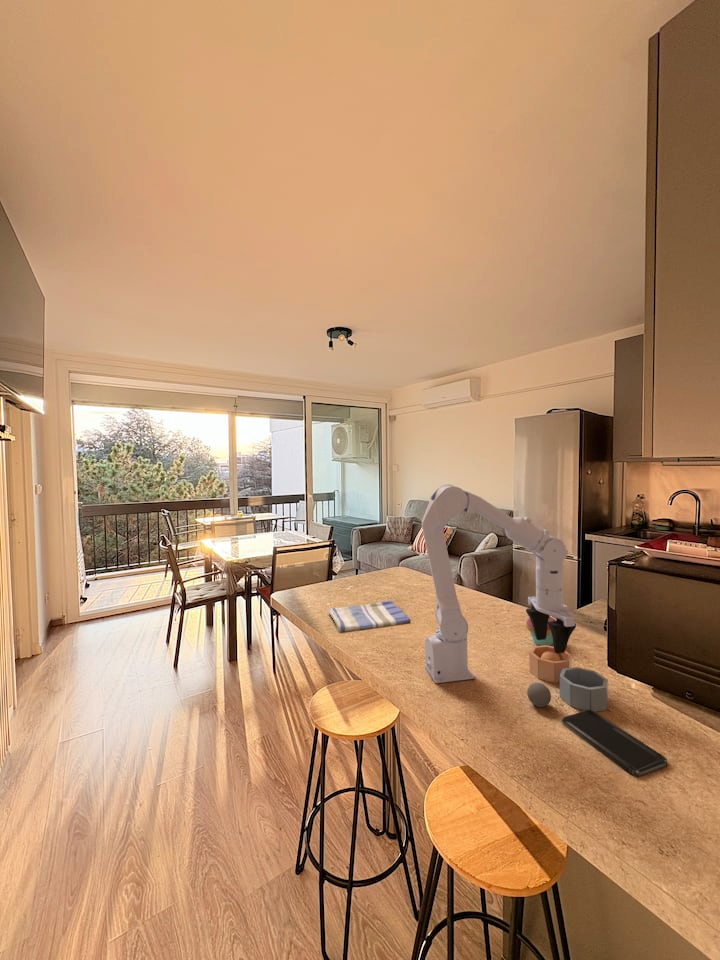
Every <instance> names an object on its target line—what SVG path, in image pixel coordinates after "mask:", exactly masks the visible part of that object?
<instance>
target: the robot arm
mask: <svg viewBox="0 0 720 960" xmlns="http://www.w3.org/2000/svg"><path fill="white" fill-rule="evenodd" d="M463 512H465V513H466V514H478V515H480V516H481V517H484V519H487V520H488V521H490V522H492V523H494V524H495V525H497V526H499V527H501V528H503V529H504V532H505V536H506V538H508V539H509V540H511V541H513V542H514V543H516V544H518V546H519V545H520V546H521V547H522V548H524V549H525V550H527V551H529V552H531V553H532V554H533V555H534V556H535V596H528V597H527V605H528V606H530V608H526V609H525V612H526V613H527V615H528V618H530V620H531V622H532V625H533V628H534V632H535V636H536V639H537V640H545V639H546V636H547V624H548V625H549V627H550V630H551V633H552V637H553V644H552V647H554V651H555V653H565V651H566V649H567V646H568V642H569V639H570V637H571V635H572V633H573V632H574V631H575V629H576V627H577V624H576V623H575V622H576V620H575V618H576V617H575V616H573V615H571V614H570V612H569V611H568V605H566V604H564V564H563V563H564V561H565V560H566V559H567V557H568V555H569V554H568V553H569V550H567V548H566V545H565V544H564V543H565V542H563V541H562V540H561V539H559V538H558V537H556V536H553V535H550V531H549V530H548V529H547V528H544V529H542V528H540V527H539V526H537V525H535V524H534V523H532V519H531V518H529V517H527V516H524V517H522V516H516V517H511V516H510V515H509V514H507V513H505V512H504V511H502V510H501V509H499V508H497V507H496V506H495V505H493V504H491V503H490V502H488V501H487V500H485V499H484V498H482V497H481V496H478V495H476V494H475V493H471V492H469V491H466V490H463V488H461V487H458V486H454V485H452V484H442V485H441V486H439V487H438V488H437V489H436V490H435V491H434V492H433V493H432V495H431V496H430V497H429V501H428V505H427V507H426V509H425V512H424V515H423V516H422V519H421V529H422V531H423V532H422V533H423V538H424V542H425V546H426V547H425V548H426V552H427V558H428V563H429V568H430V573H431V577H432V581H433V587H434V592H435V601H436V609H435V619H436V621H437V623H438V627H437V629H436V630H435V634H433V635H431V636H428V637H426V638H425V642H424V644H425V645H424V648H425V650H424V652H425V665H424V668H425V669H426V671H427V673H428V674H429V675H430V676H431V678H432V680H433V682H434V683H436V684H440V683H449V682H457V681H465V680H466V681H467V680H473V679H476V675H475V674H473V672H472V671H471V670H470V669H469V666H468V665H469V662H468V659H469V656H468V655H469V654H468V651H469V650H468V632H469V623H468V620H467V619H466V618H465V617H464V615H463V613H462V609H461V606H460V604H459V603H460V602H459V600H458V596H457V592H456V588H455V587H456V586H455V581H454V577H453V572H452V567H451V562H450V556H449V553H448V548H447V542H446V537H445V532H444V529H445V528H446V526H447V525H448V524H449V522H450V521H451V520H452V519H454V518H455V517H456V516H459V514H461V513H463ZM549 616H550V617H551V618H553V619H555V620H556V621H551V622H548V619H549Z"/></svg>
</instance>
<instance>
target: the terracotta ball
mask: <svg viewBox="0 0 720 960" xmlns="http://www.w3.org/2000/svg"><path fill="white" fill-rule="evenodd" d="M541 658H542V659H546V660H550V661H561V659H560V657H559V656H558V655H557V654H556V653H554V652H551V651H547V652H545V653H543V654H542V656H541Z"/></svg>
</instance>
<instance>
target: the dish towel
mask: <svg viewBox="0 0 720 960" xmlns="http://www.w3.org/2000/svg"><path fill="white" fill-rule="evenodd" d="M327 612H328V615H329V616H330V615H331V616H330V618H331V617H332V618H333V619H332V618H331V619H332V621H333V620H334V621H333V622H335V623H334V625H335V624H336V625H335V627H336V626H337V627H336V629H337V632H338V633H343V632H352V631H360V630H361V631H362V630H369V629H375V628H381V627H383V628H384V627H388V626H389V627H390V626H396V625H402V624H408V623H410V622H411V621H412V620H411V618H409V616H408V615H407V614H406V613H405V612H404V611H403V610H402V609H401V608H400V607H398V605H397V604H395V603H394V601H392V600H385V601H379V602H372V603H369V604H364V605H359V604H358V605H350V606H343V607H330V608H329V609H328V608H327Z"/></svg>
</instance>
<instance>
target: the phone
mask: <svg viewBox="0 0 720 960" xmlns="http://www.w3.org/2000/svg"><path fill="white" fill-rule="evenodd" d="M561 720H562V725H563V726H564V727H565V728H566V729H568V730H570V731H571V732H572V733H573V734H575V735H576V736H577V737H579V738H580V739H581V740H583V741H584V742H585V743H587V744H588V745H589V746H591V747H592V748H594V749H595V750H596V751H598V752H599V753H600V754H602V755H603V756H604V757H605V758H607V759H608V760H610V761H611V762H612V763H614V764H615V765H616V766H618V767H619V768H620V769H621V770H623V771H624V772H626V773H627V774H628V775H630V776H632V777H635V778H641V777H645V776H647V775H650V774H651V773H655V772H657V771H660V770H662V769H665V768H667V767H668V758H667V757H665V756H664V755H663V754H661V753H659V752H658V751H656V750H655V749H653V748H652V747H650V745H649V746H648V745H647V744H646V743H644V742H643V741H641V740H639V739H638V738H636V737H635V736H633V735H631V734H630V733H629V732H627V731H626V730H624V729H623V728H621V727H619V726H618V725H616V724H615V723H613V722H611V721H610V720H608V719H607V718H605V717H604V716H602V715H601V714H599V713H598V712H597V711H596V712H594V711H591V710H586V711H585V710H582V711H579V712H577V713H573V714H570V715H566V716H563V717H562V719H561Z"/></svg>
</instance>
